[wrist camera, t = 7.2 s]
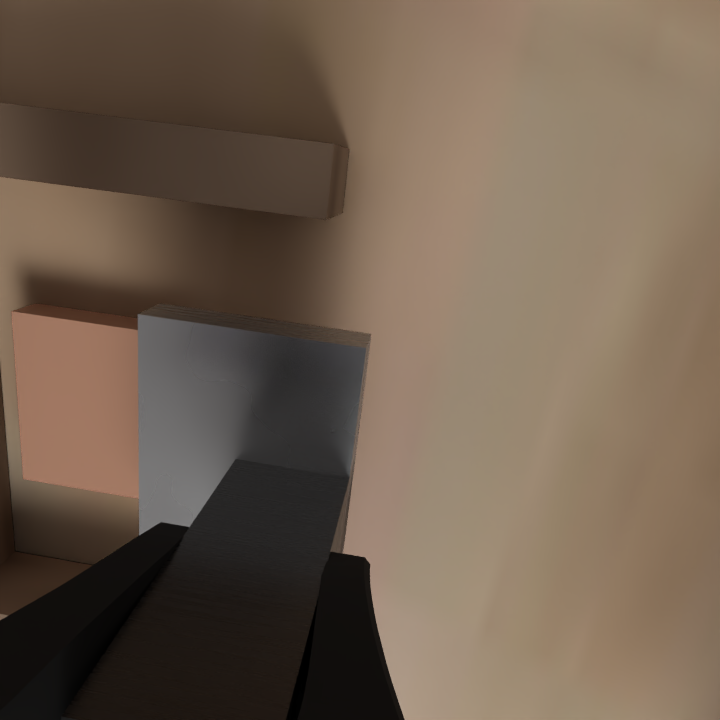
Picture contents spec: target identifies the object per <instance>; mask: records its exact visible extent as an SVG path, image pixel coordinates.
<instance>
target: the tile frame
mask: <svg viewBox="0 0 720 720" xmlns="http://www.w3.org/2000/svg"><path fill="white" fill-rule="evenodd" d="M348 158H349V149H348V148H345V147H342V146H339V145H336V144H332V143H324V142H316V141H308V140H299V139H291V138H283V137H275V136H267V135H259V134H251V133H243V132H235V131H227V130H218V129H210V128H202V127H194V126H186V125H178V124H170V123H162V122H154V121H146V120H137V119H129V118H121V117H113V116H105V115H97V114H89V113H81V112H73V111H64V110H56V109H48V108H40V107H32V106H24V105H16V104H8V103H0V177H6V178H14V179H21V180H29V181H36V182H44V183H51V184H59V185H66V186H74V187H82V188H89V189H97V190H104V191H112V192H119V193H127V194H134V195H142V196H150V197H157V198H165V199H172V200H180V201H187V202H195V203H202V204H210V205H218V206H225V207H233V208H240V209H248V210H255V211H263V212H270V213H278V214H286V215H293V216H301V217H308V218H316V219H323V220H327V219H329V218H332V217H334V216H336V215H338V214H341V213H343V205H344V195H345V186H346V176H347V167H348ZM91 566H93V565H88V564H82V563H76V562H71V561H65V560H59V559H54V558H48V557H43V556H37V555H31V554H26V553H20V552H15V546H14V534H13V522H12V510H11V497H10V485H9V473H8V461H7V449H6V436H5V424H4V412H3V400H2V388H1V375H0V620H1V619H3V618H5V617H7V616H8V615H10V614H12V613H14V612H15V611H17V610H19V609H21V608H23V607H24V606H26V605H28V604H30V603H31V602H33V601H35V600H37V599H38V598H40V597H42V596H44V595H45V594H47V593H49V592H51V591H52V590H54V589H56V588H57V587H59V586H61V585H62V584H64V583H66V582H67V581H69V580H70V579H72V578H74V577H75V576H77V575H78V574H80V573H82V572H83V571H85V570H86V569H88V568H90V567H91Z"/></svg>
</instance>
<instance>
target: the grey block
mask: <svg viewBox="0 0 720 720" xmlns="http://www.w3.org/2000/svg"><path fill="white" fill-rule="evenodd" d="M370 341H371V334H368V333H361V332H354V331H348V330H341V329H334V328H327V327H320V326H313V325H307V324H300V323H293V322H286V321H279V320H273V319H266V318H259V317H252V316H245V315H238V314H232V313H225V312H218V311H211V310H204V309H197V308H191V307H184V306H177V305H170V304H163V303H160V304H158V305H155V306H153V307H151V308H149V309H147V310H145V311H143V312H141V313H139V314H138V435H139V535H141V534H142V533H144V532H146V531H147V530H149V529H150V528H152V527H154V526H155V525H157V524H159V523H160V522H164V523H170V524H175V525H181V526H187V527H189V529H188V530H187V532H186V533H185V534H184V537H183V538H182V540H181V541H180V543H179V544H178V546H177V547H176V549H175V550H174V552H173V553H172V555H171V556H170V558H169V559H168V560H167V561H166V563H165V564H164V566H163V567H162V568H161V570H160V571H159V573H158V574H157V576H156V577H155V579H154V580H153V582H152V583H151V585H150V586H149V588H148V589H147V591H146V592H145V594H144V595H143V597H142V598H141V599H140V601H139V602H138V604H137V605H136V607H135V608H134V610H133V611H132V613H131V614H130V616H129V617H128V619H127V620H126V622H125V623H124V625H123V626H122V628H121V629H120V630H119V632H118V633H117V635H116V636H115V638H114V639H113V641H112V642H111V644H110V645H109V647H108V648H107V650H106V651H105V653H104V654H103V656H102V657H101V659H100V660H99V662H98V663H97V664H96V666H95V667H94V669H93V670H92V672H91V673H90V675H89V676H88V678H87V679H86V681H85V682H84V684H83V685H82V687H81V688H80V690H79V691H78V693H77V694H76V695H75V697H74V698H73V700H72V701H71V703H70V704H69V706H68V707H67V709H66V710H65V712H64V713H63V715H62V716H61V720H297V719H298V716H299V712H300V708H301V704H302V701H303V697H304V692H305V686H306V681H307V676H308V670H309V663H310V656H311V648H312V641H313V634H314V626H315V619H316V611H317V604H318V597H319V589H320V582H321V576H322V573H323V570H324V567H325V564H326V561H328V559H329V556H330V554H331V552H336V553H342V554H343V549H344V541H345V534H346V526H347V518H348V510H349V503H350V495H351V487H352V480H353V472H354V464H355V457H356V449H357V441H358V433H359V426H360V418H361V410H362V403H363V395H364V387H365V379H366V372H367V364H368V356H369V349H370Z"/></svg>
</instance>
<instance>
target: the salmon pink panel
mask: <svg viewBox="0 0 720 720" xmlns="http://www.w3.org/2000/svg"><path fill="white" fill-rule="evenodd" d="M11 313H12V327H13V341H14V355H15V369H16V384H17V398H18V412H19V426H20V440H21V455H22V469H23V479H25V480H31V481H37V482H43V483H49V484H55V485H61V486H67V487H73V488H79V489H85V490H90V491H96V492H102V493H108V494H114V495H120V496H126V497H132V498H138V499H139V435H138V318H133V317H126V316H119V315H112V314H105V313H98V312H92V311H85V310H78V309H71V308H64V307H57V306H51V305H44V304H37V303H36V304H33V305H30V306H27V307H24V308H20V309H17V310H14V311H11Z"/></svg>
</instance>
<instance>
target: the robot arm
mask: <svg viewBox="0 0 720 720" xmlns="http://www.w3.org/2000/svg"><path fill="white" fill-rule="evenodd" d="M188 529H189V527H187V526H181V525H175V524H170V523H164V522H160V523H159V524H157V525H155V526H154V527H152V528H150V529H149V530H147V531H146V532H144V533H142V534H141V535H139V536H138V537H136V538H135V539H133V540H132V541H130V542H129V543H127V544H126V545H124V546H122V547H121V548H119V549H118V550H116V551H115V552H113V553H112V554H110V555H109V556H107V557H105V558H104V559H102V560H101V561H99V562H98V563H96V564H94V565H93V566H91V567H90V568H88V569H86V570H85V571H83V572H82V573H80V574H78V575H77V576H75V577H74V578H72V579H70V580H69V581H67V582H66V583H64V584H62V585H61V586H59V587H57V588H56V589H54V590H52V591H51V592H49V593H47V594H45V595H44V596H42V597H40V598H38V599H37V600H35V601H33V602H31V603H30V604H28V605H26V606H24V607H23V608H21V609H19V610H17V611H15V612H14V613H12V614H10V615H8V616H7V617H5V618H3V619H1V620H0V720H61V716H62V715H63V713H64V712H65V710H66V709H67V707H68V706H69V704H70V703H71V701H72V700H73V698H74V697H75V695H76V694H77V693H78V691H79V690H80V688H81V687H82V685H83V684H84V682H85V681H86V679H87V678H88V676H89V675H90V673H91V672H92V670H93V669H94V667H95V666H96V664H97V663H98V662H99V660H100V659H101V657H102V656H103V654H104V653H105V651H106V650H107V648H108V647H109V645H110V644H111V642H112V641H113V639H114V638H115V636H116V635H117V633H118V632H119V630H120V629H121V628H122V626H123V625H124V623H125V622H126V620H127V619H128V617H129V616H130V614H131V613H132V611H133V610H134V608H135V607H136V605H137V604H138V602H139V601H140V599H141V598H142V597H143V595H144V594H145V592H146V591H147V589H148V588H149V586H150V585H151V583H152V582H153V580H154V579H155V577H156V576H157V574H158V573H159V571H160V570H161V568H162V567H163V566H164V564H165V563H166V561H167V560H168V559H169V558H170V556H171V555H172V553H173V552H174V550H175V549H176V547H177V546H178V544H179V543H180V541H181V540H182V538H183V537H184V534H185V533H186V532H187V530H188ZM297 720H404V717H403V714H402V711H401V708H400V705H399V702H398V699H397V696H396V693H395V690H394V687H393V684H392V681H391V677H390V674H389V671H388V667H387V664H386V660H385V656H384V652H383V648H382V644H381V641H380V637H379V633H378V628H377V624H376V619H375V614H374V608H373V602H372V596H371V588H370V564H369V562H368V561H367V560H366V558H365V557H359V556H354V555H348V554H342V553H336V552H331V554H330V556H329V559H328V561H326V564H325V567H324V570H323V573H322V576H321V582H320V589H319V597H318V604H317V611H316V619H315V626H314V634H313V641H312V648H311V656H310V663H309V670H308V676H307V681H306V686H305V692H304V697H303V701H302V704H301V708H300V712H299V716H298V719H297Z"/></svg>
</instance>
